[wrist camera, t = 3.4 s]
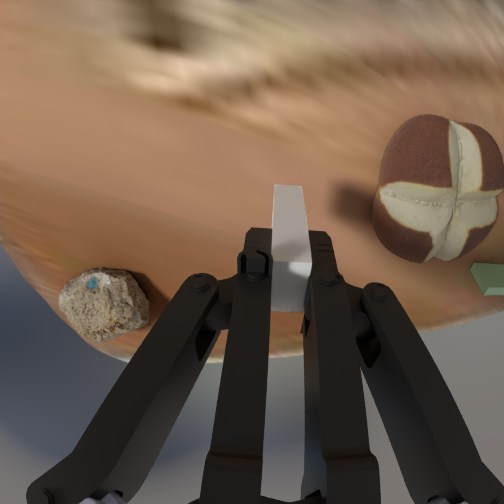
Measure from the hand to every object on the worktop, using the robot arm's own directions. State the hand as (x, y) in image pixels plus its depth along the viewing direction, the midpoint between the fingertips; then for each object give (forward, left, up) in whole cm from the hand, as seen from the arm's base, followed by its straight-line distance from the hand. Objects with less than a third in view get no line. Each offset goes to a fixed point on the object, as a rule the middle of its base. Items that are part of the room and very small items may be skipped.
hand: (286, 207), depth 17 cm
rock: (+14, -17, -5) cm, 23 cm away
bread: (-1, +12, -5) cm, 13 cm away
